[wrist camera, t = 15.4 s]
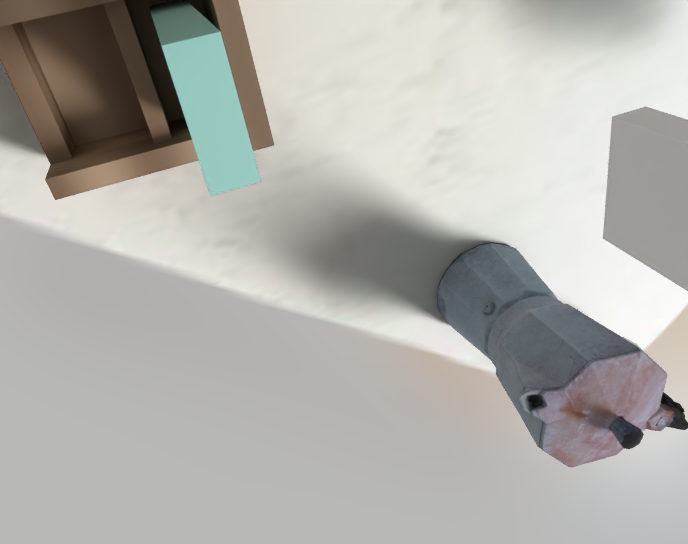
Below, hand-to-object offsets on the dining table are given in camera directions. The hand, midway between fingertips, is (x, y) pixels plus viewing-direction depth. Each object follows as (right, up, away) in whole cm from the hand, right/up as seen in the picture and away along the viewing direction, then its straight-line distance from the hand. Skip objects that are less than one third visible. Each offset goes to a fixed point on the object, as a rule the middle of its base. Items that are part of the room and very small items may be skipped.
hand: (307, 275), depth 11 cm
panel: (-9, +13, +23) cm, 28 cm away
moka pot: (+13, -1, +41) cm, 43 cm away
